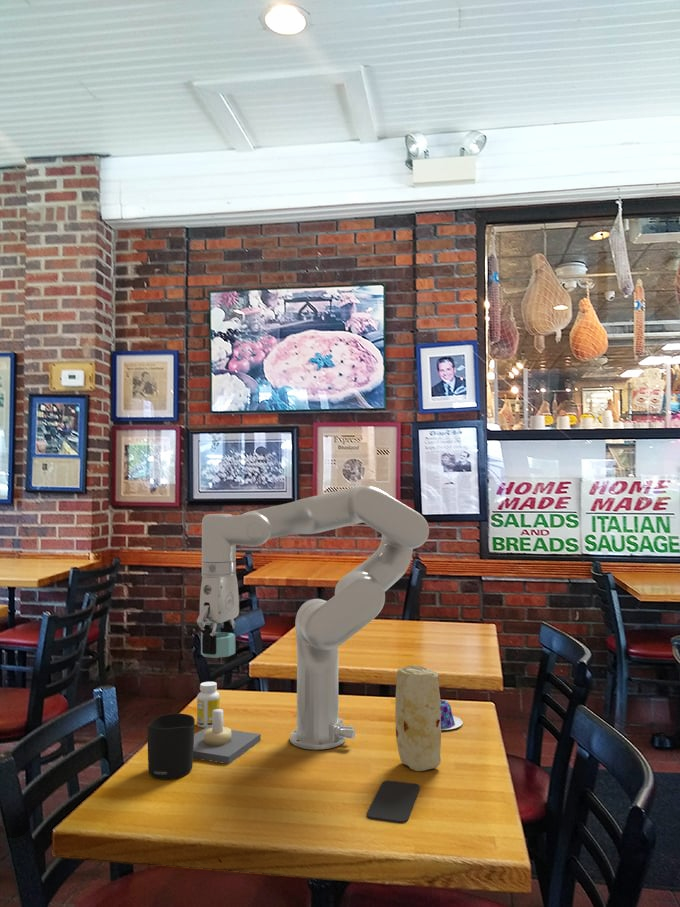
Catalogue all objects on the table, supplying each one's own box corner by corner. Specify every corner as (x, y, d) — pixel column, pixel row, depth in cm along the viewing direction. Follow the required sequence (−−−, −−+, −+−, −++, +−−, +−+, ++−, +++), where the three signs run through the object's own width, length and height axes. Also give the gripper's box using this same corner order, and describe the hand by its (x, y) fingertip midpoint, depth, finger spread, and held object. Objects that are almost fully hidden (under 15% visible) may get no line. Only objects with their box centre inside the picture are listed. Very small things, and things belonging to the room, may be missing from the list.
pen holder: (138, 770, 136) (139, 720, 137) (181, 758, 142) (181, 710, 143) (158, 785, 129) (159, 732, 130) (202, 772, 135) (203, 721, 136)
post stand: (260, 740, 152) (260, 704, 153) (228, 764, 139) (229, 724, 140) (207, 733, 157) (207, 698, 158) (172, 754, 144) (172, 716, 145)
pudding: (415, 732, 158) (414, 710, 158) (411, 715, 170) (411, 694, 170) (466, 733, 158) (465, 710, 158) (459, 716, 170) (458, 695, 170)
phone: (364, 816, 116) (383, 779, 130) (364, 821, 116) (383, 784, 130) (406, 821, 114) (420, 784, 128) (406, 826, 114) (421, 788, 128)
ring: (239, 651, 151) (239, 633, 151) (224, 658, 144) (224, 639, 144) (212, 648, 153) (212, 631, 153) (195, 656, 147) (196, 637, 147)
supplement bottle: (222, 721, 165) (222, 680, 166) (215, 728, 160) (216, 687, 161) (200, 720, 166) (201, 680, 167) (193, 728, 161) (194, 686, 161)
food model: (445, 764, 139) (444, 666, 140) (436, 776, 133) (435, 674, 134) (400, 756, 143) (400, 661, 144) (389, 768, 137) (389, 668, 138)
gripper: (213, 574, 140) (212, 660, 139) (251, 565, 157) (251, 642, 156) (182, 573, 143) (182, 657, 142) (223, 564, 159) (223, 640, 158)
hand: (218, 649), depth 149 cm, fingers closed on ring, 7 cm apart
